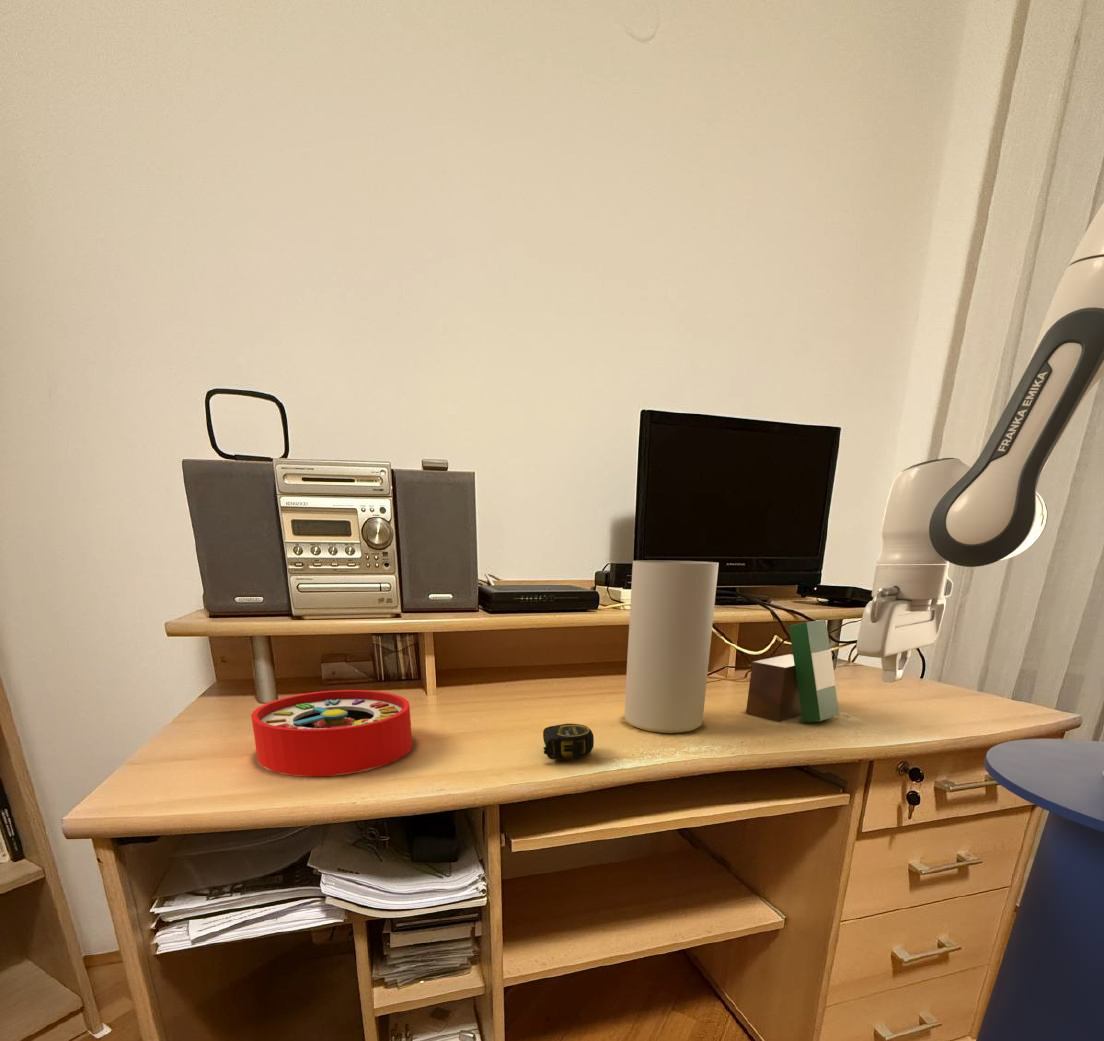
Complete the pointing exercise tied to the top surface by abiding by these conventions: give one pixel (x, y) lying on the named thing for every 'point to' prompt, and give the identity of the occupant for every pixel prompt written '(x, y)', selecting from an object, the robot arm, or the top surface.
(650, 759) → the top surface
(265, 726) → the toy clock
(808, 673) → the block
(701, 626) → the cylinder vase
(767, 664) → the block
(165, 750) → the top surface
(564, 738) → the tape measure
